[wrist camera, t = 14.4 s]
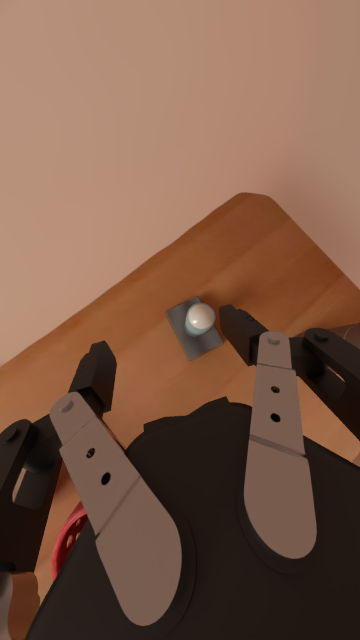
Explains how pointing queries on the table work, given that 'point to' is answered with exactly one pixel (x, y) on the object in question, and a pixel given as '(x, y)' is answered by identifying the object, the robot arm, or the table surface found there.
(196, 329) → the ceramic tumbler
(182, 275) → the table surface
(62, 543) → the plant pot
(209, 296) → the table surface
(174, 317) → the dark grey slab
